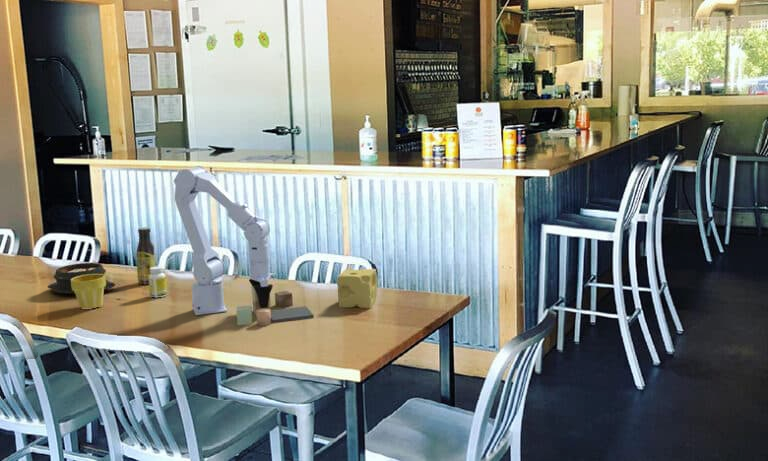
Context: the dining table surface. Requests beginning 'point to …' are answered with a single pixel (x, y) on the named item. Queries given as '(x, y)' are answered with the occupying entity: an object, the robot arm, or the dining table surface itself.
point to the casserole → (71, 271)
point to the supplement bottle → (157, 282)
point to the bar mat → (290, 314)
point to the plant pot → (89, 289)
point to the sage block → (244, 315)
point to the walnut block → (283, 299)
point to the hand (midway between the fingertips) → (262, 304)
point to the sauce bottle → (144, 255)
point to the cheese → (357, 288)
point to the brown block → (263, 317)
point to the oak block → (256, 302)
